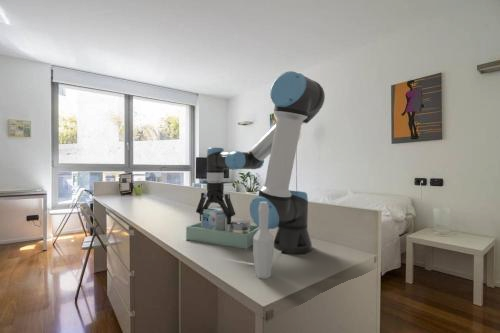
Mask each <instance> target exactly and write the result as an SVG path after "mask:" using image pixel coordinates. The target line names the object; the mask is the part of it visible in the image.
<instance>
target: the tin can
mask: <svg viewBox="0 0 500 333" xmlns="http://www.w3.org/2000/svg"><path fill="white" fill-rule="evenodd" d="M250 225H251V222H250V221H249V220H244V219H243V220H242V219H240V220H239V219H238V220H233V221H231V232H235V233H242V234H247V233H249V232H250Z"/></svg>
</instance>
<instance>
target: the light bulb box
mask: <svg viewBox="0 0 500 333" xmlns="http://www.w3.org/2000/svg"><path fill="white" fill-rule="evenodd" d="M213 207H214V206H213ZM225 217H227V216H226V214H225V213H224V211H223V209H219V208H215V207H214V208H207V209H204V210H203V228H205V229H212V230H220V231H225Z"/></svg>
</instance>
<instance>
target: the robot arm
mask: <svg viewBox="0 0 500 333" xmlns="http://www.w3.org/2000/svg"><path fill="white" fill-rule="evenodd" d="M269 95H270V99H271V102H272V103H273V104H274V108H273V114H274V115H275V116H276V121H275V122H276V123H275V125H273V126H272V127H271V128H270V130H268V131H267V132H266V133H265V135H263V136H262V138H260V140H258V142H256V143H255V145H253V147H251V149H249V151H245V152H243V151H237V150H232V151H225V149H224V148H223V147H208V148H207V151H206V181H207V183H206V191H207V192H204V191H203V192H200V199H199V202H198V205H197V208H196V210H195V212H196V214H199V222H201V228H203V210H204V209H207V208H208V207H209V206H210V205H211V204H213V203H214V204H218V205H219V206H220V207H221V208H222V209H223V211H224V213H225V214H226V216H227V217H225V231H227V232H229V231H230V224H231V222H232V217H233V216H236V212H235V208H234V205H233V203H232V201H231V194H230V193H224V190H225V189H224V187H225V185H224V184H225V183H224V181H225V180H224V177H225V176H224V174H225V173H224V172H225V171H224V170H234V171H235V170H258V169H261V168H262V167H263V166H264V163H265V159H266V158H267V157H268V156H269V160H268V165H267V171H266V176H265V181H264V184H263V185H262V186H260V187H259V191H258V194H257V196H256V197H254V198H253V199H252V200H251V202H250V205H249V215H250V218H251V219H252V222H253V223H254V224H255V225H256V226H258V227H259V214H258V208H259V204H260V202H268V206H269V216H268V230H273V229H277V231H276V233H275V236H274V239H273V249H276V250H278V251H281V253H285V254H293V255H298V254H299V255H301V254H306V253H310V252H311V251H312V248H313V243H312V239H311V237H310V234H309V231H308V230H309V229H308V220H309V219H308V216H309V214H308V213H309V212H308V210H309V207H308V205H309V204H308V203H309V199H308V194H307V192H305V191H299V190H290V188H289V187H290V184H291V183H290V182H291V179H292V178H291V177H292V172H293V168H294V163H295V160H296V159H295V158H296V153H297V149H298V142H299V138H300V133H301V129H302V125H304V124H308V123H309V122H311V120H312V119H314V118H315V117H316V115H317V114H319V112H320V111H321V109H322V108H323V106H324V103H325V98H326V97H325V96H326V94H325V91H324V88H323V87H322V85H321V84H320V83H319V82H318V81H315V80H313V79H311V78H309V77H307V76H305V75H304V74H302V73H299V72H296V71H292V70H291V71H290V70H289V71H285V72H283V73H281V74H280V75H279V76H277V77H276V78H275V80H274V81H273V83H272V85H271V87H270V94H269Z"/></svg>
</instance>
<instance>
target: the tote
mask: <svg viewBox="0 0 500 333" xmlns="http://www.w3.org/2000/svg"><path fill="white" fill-rule="evenodd" d="M258 230H259V227H258V226H257V225H256V224H255V225H253V224H250V232H249V233H247V234H242V233H235V232H231V224H230V231H229V232H227V231H220V230H212V229H205V228H201V221H199V222H196V223H194V224H193V223H192V224H190V225H187V226H186V230H185V231H186V232H185V234H186V237H185V238H186V239H185V240H186V241H189V242H190V241H195V242H202V243H203V242H204V243H209V244H210V243H211V244H214V245H222V246H228V247H233V248H239V249H249V248H250V247H253V238H254V235H255V234H256V233H257V231H258Z"/></svg>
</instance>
